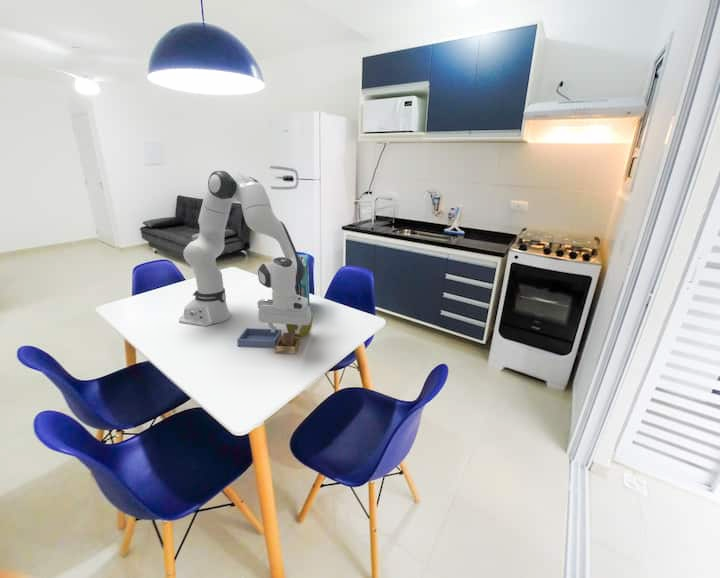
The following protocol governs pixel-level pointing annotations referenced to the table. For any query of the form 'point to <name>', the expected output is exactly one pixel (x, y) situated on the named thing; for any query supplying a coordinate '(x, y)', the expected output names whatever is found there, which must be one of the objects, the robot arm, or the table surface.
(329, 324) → the table surface
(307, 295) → the game box
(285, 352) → the wooden serving tray
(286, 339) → the walnut block
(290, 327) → the flower pot
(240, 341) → the blue tray
